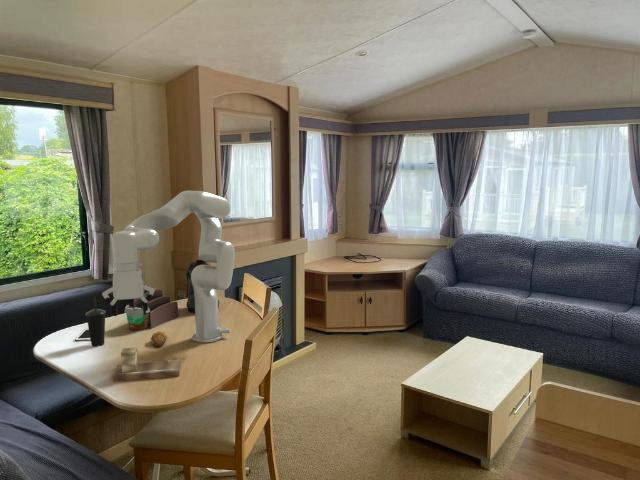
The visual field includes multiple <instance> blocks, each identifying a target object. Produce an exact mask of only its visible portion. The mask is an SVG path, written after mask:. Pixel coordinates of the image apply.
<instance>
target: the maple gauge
mask: <svg viewBox="0 0 640 480" xmlns="http://www.w3.org/2000/svg"><path fill="white" fill-rule="evenodd" d="M120 360H121V365H122V372H133V371H136V370H137V367H138V363H139V362H138V347H123V348H122V350H121V353H120Z"/></svg>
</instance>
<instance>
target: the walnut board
mask: <svg viewBox="0 0 640 480" xmlns="http://www.w3.org/2000/svg"><path fill="white" fill-rule="evenodd" d="M115 367H116V368H115V370H114V371H113V374H112V382H113V383H116V382H117V383H118V382H125V381H126V382H127V381H137V380H140V381H141V380H149V379H159V378H160V379H161V378H171V377H172V378H173V377H180V374H181V359H175V360H174V359H172V360H169V359H168V360H160V361H158V360H157V361H150V362H149V361H148V362H138V367H137V370H136V371H133V372H122V364H117V365H116V366H115Z"/></svg>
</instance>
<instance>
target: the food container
mask: <svg viewBox="0 0 640 480" xmlns="http://www.w3.org/2000/svg"><path fill="white" fill-rule="evenodd" d="M149 312H150V309H149V307H148V311H146V314H143V308H140V307H133V306H130V304H126V306H125V308H124V313H125V315H126V322H127V328H128V330H129V331H132V332H133V331H134V332H139V331H144V330H148V329H149V328H148V324H149Z"/></svg>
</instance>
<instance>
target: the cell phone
mask: <svg viewBox="0 0 640 480" xmlns="http://www.w3.org/2000/svg"><path fill="white" fill-rule="evenodd" d="M74 342H91V339H90V333H89V328H85V329H84V330H82V331H81V332H80V333H79V334H78V335H77V336H76V338H74Z"/></svg>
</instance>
